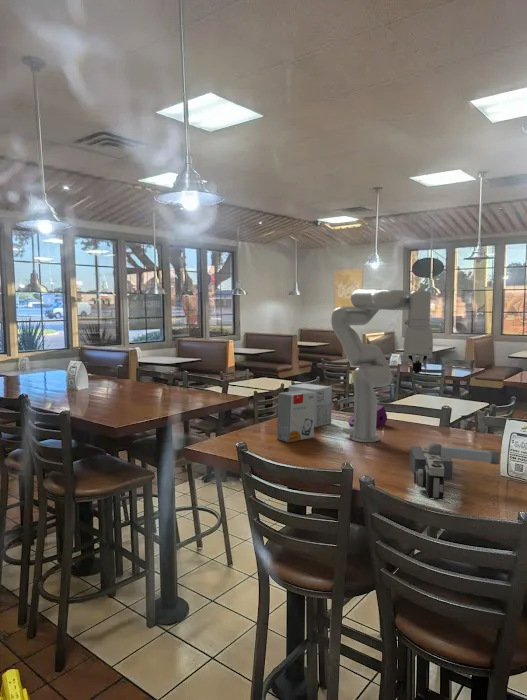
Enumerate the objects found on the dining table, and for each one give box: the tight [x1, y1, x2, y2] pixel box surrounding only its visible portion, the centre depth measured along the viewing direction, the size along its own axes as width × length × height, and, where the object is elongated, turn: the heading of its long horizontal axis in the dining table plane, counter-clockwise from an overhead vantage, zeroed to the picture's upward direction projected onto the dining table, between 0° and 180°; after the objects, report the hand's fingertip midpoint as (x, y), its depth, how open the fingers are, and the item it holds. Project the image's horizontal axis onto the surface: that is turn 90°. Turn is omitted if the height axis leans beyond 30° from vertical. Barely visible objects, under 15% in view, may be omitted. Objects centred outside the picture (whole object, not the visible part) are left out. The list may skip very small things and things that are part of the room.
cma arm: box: [428, 442, 501, 465], centre depth 161 cm, size 4×21×4 cm, turn 67°
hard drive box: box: [276, 390, 315, 443], centre depth 214 cm, size 16×8×20 cm, turn 131°
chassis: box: [409, 445, 454, 480], centre depth 173 cm, size 12×19×8 cm, turn 169°
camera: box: [413, 455, 445, 500], centre depth 155 cm, size 14×8×10 cm, turn 166°
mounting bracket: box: [347, 404, 388, 428], centre depth 241 cm, size 10×8×18 cm
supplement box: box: [288, 383, 333, 428], centre depth 243 cm, size 17×13×18 cm
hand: (416, 373), depth 187 cm, fingers closed
